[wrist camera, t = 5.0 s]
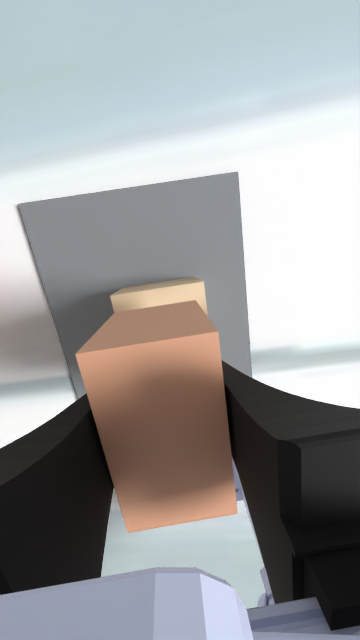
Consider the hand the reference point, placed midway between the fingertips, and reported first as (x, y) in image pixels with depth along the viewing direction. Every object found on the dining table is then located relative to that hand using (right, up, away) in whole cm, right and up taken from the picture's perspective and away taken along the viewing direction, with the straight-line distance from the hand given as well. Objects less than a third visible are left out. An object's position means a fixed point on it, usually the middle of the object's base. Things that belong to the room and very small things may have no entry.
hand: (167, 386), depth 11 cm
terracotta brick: (0, 0, +1) cm, 1 cm away
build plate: (-2, +3, +9) cm, 9 cm away
